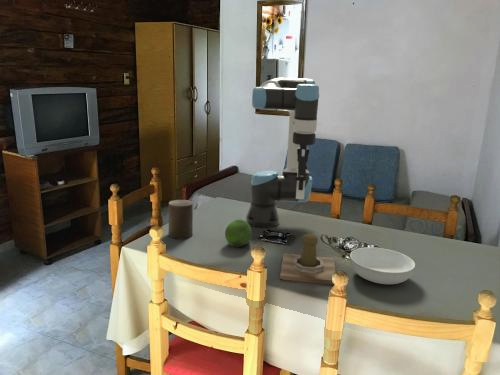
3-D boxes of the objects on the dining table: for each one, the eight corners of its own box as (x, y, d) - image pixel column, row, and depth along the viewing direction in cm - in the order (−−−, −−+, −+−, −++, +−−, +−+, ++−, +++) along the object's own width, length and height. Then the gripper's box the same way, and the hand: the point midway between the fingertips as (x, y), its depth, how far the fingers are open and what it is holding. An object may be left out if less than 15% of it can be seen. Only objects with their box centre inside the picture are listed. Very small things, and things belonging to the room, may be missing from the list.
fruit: (234, 235, 173) (235, 212, 171) (257, 239, 170) (258, 215, 168) (220, 248, 160) (220, 223, 157) (244, 253, 156) (245, 227, 154)
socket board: (283, 257, 154) (284, 249, 153) (333, 261, 152) (333, 253, 151) (279, 279, 137) (280, 270, 136) (335, 285, 134) (336, 276, 134)
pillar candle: (185, 240, 166) (186, 204, 162) (164, 236, 169) (163, 200, 165) (196, 232, 175) (197, 198, 171) (175, 229, 178) (175, 195, 174)
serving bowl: (426, 288, 134) (429, 269, 133) (369, 296, 128) (371, 275, 127) (388, 261, 154) (390, 244, 152) (337, 267, 148) (338, 248, 146)
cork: (316, 269, 141) (319, 239, 138) (298, 267, 142) (300, 237, 140) (317, 262, 147) (319, 233, 144) (300, 260, 148) (302, 231, 145)
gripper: (294, 126, 152) (290, 182, 158) (292, 137, 128) (287, 203, 134) (314, 127, 151) (310, 183, 157) (316, 138, 127) (311, 205, 133)
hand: (300, 192), depth 146 cm, fingers open, 13 cm apart
